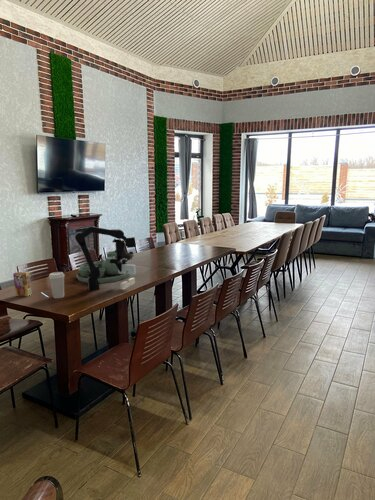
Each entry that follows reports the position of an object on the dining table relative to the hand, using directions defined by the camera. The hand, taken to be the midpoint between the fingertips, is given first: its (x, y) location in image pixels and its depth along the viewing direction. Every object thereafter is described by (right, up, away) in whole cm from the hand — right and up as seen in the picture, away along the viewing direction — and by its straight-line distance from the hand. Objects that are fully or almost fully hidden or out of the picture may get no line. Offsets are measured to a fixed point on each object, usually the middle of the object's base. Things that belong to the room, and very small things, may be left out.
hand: (121, 271), depth 248 cm
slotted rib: (+4, -10, +1) cm, 11 cm away
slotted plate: (+4, -2, -1) cm, 4 cm away
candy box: (-61, -15, -12) cm, 64 cm away
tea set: (-19, -6, +30) cm, 36 cm away
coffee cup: (-36, -15, -17) cm, 43 cm away
